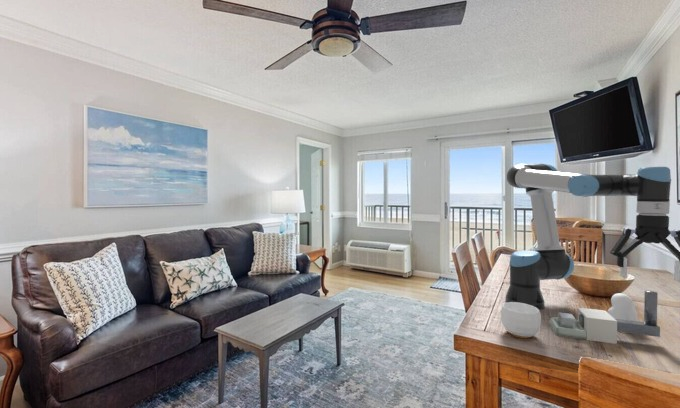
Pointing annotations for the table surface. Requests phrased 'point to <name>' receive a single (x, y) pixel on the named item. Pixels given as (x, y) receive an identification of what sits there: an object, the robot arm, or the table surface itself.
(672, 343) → the table surface
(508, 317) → the white faceted bowl
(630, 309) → the figurine
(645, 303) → the grey l-shaped bracket
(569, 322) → the block
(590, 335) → the housing
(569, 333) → the tray
